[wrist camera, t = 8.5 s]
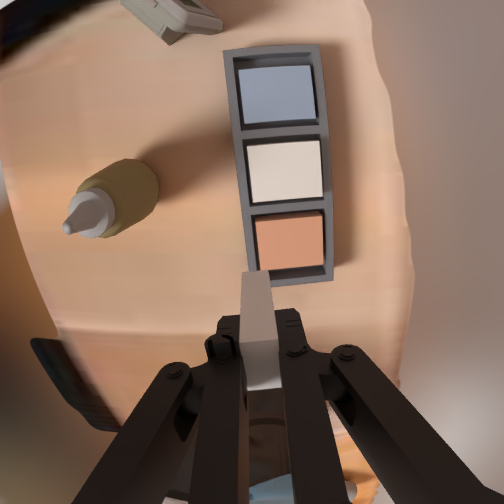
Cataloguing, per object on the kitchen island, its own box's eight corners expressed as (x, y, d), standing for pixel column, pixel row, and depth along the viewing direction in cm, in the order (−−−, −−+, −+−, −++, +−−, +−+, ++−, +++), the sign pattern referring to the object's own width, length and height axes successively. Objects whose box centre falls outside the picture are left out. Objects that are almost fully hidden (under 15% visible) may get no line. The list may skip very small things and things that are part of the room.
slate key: (311, 119, 34) (315, 118, 32) (244, 124, 34) (244, 123, 32) (306, 69, 31) (309, 65, 29) (239, 73, 32) (238, 70, 29)
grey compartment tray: (327, 269, 43) (333, 280, 40) (251, 277, 44) (251, 289, 40) (313, 51, 32) (318, 44, 28) (225, 57, 32) (222, 50, 29)
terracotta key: (319, 256, 41) (323, 264, 38) (260, 262, 41) (260, 270, 39) (318, 210, 38) (322, 215, 36) (255, 216, 39) (255, 222, 36)
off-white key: (318, 192, 37) (322, 196, 34) (253, 197, 37) (253, 202, 35) (314, 140, 34) (319, 140, 32) (247, 145, 34) (246, 146, 32)
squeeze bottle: (109, 159, 37) (26, 186, 20) (164, 152, 37) (101, 173, 20) (116, 215, 40) (44, 271, 23) (169, 212, 40) (117, 272, 23)
